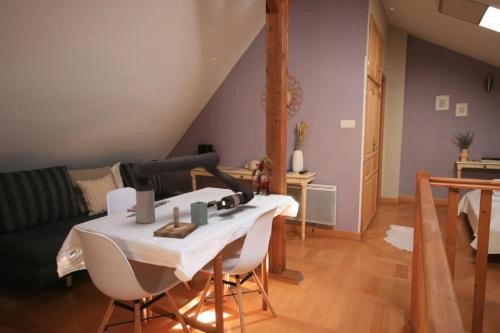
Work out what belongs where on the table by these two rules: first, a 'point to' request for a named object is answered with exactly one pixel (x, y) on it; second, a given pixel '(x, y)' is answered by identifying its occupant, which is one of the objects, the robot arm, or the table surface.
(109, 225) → the table surface
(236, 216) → the table surface
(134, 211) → the adjustable rod
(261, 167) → the figurine
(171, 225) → the peg board
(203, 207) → the collar
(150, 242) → the table surface
